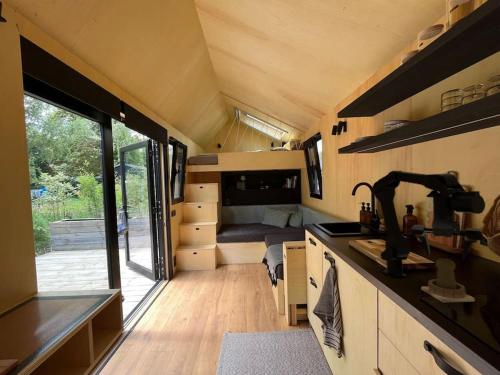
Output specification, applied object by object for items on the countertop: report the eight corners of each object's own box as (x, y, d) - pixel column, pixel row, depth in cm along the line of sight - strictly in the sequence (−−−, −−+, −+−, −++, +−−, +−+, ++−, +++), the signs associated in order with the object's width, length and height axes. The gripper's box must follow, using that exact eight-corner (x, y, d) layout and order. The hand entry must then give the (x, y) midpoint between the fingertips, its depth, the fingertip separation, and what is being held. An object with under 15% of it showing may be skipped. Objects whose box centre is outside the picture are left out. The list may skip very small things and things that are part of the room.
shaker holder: (421, 289, 89) (421, 279, 89) (449, 288, 89) (449, 278, 89) (442, 302, 79) (442, 291, 79) (474, 301, 79) (474, 290, 79)
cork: (430, 288, 87) (429, 257, 87) (447, 287, 87) (446, 256, 87) (445, 296, 81) (443, 262, 81) (462, 295, 81) (461, 261, 81)
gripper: (406, 212, 84) (408, 258, 84) (482, 215, 72) (483, 269, 72) (412, 209, 92) (414, 251, 93) (481, 211, 80) (483, 259, 80)
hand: (445, 257), depth 84 cm, fingers open, 9 cm apart
